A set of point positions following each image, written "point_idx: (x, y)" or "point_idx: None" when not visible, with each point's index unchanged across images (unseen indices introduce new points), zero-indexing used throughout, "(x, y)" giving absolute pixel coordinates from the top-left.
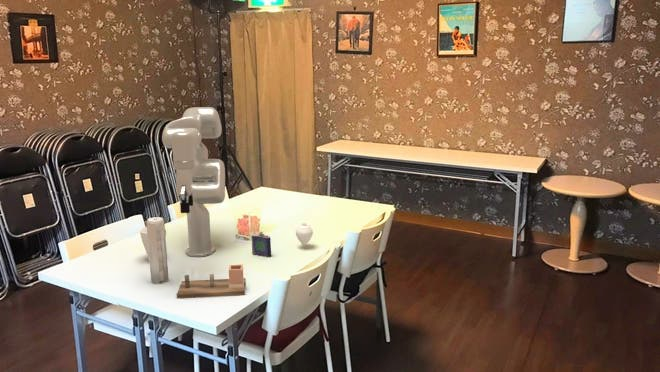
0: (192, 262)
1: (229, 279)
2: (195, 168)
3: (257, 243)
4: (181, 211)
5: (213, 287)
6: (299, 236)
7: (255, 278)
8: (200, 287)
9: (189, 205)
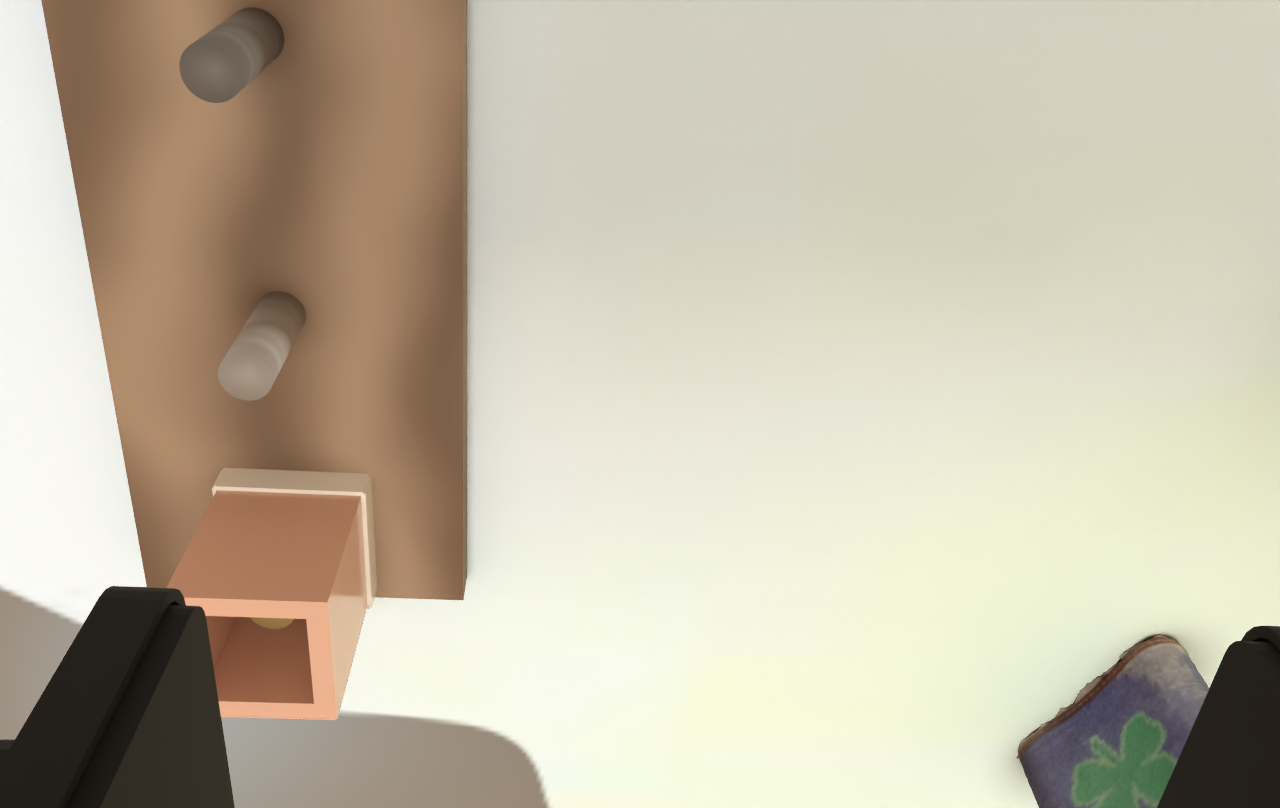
0: (1195, 26)
1: (197, 530)
2: None
3: (1161, 773)
4: (89, 650)
5: (240, 326)
6: None
7: (535, 646)
8: (242, 190)
9: (1182, 775)
